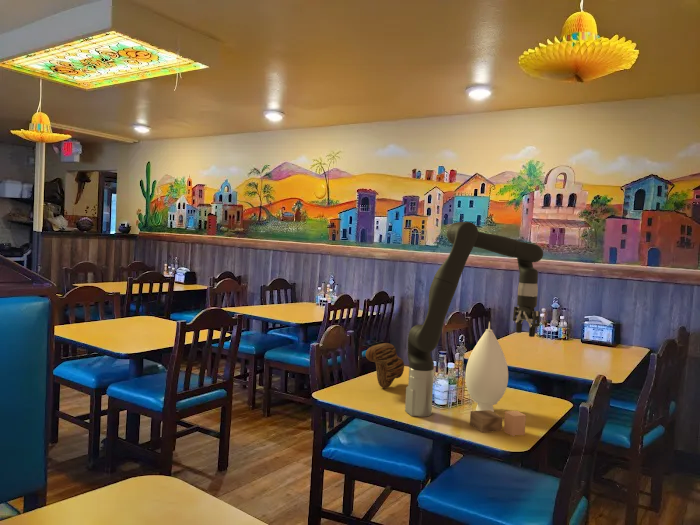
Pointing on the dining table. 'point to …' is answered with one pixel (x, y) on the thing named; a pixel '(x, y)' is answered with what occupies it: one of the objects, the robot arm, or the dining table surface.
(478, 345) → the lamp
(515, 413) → the light wooden cube
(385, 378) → the sculpture
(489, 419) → the walnut block
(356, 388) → the dining table surface
